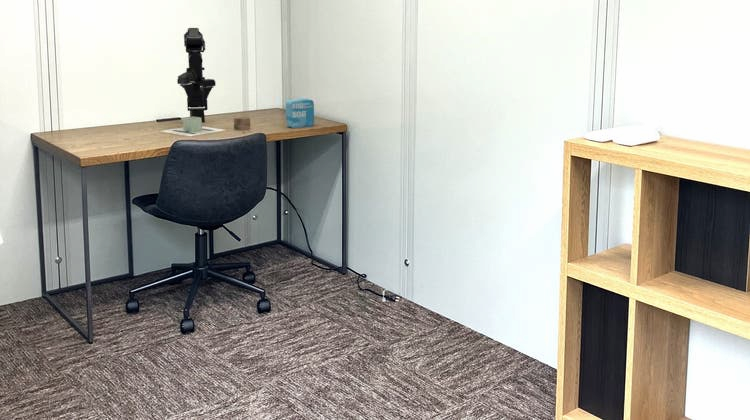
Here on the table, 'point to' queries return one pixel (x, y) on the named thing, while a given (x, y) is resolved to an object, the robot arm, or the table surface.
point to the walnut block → (242, 123)
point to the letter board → (187, 133)
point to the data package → (300, 113)
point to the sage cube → (192, 124)
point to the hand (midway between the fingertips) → (197, 101)
